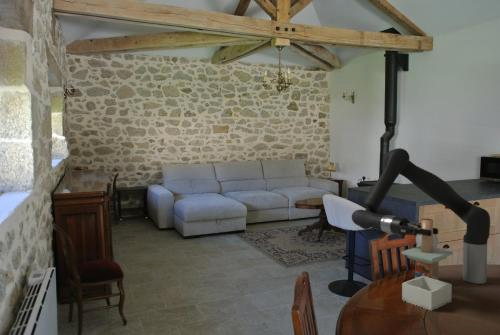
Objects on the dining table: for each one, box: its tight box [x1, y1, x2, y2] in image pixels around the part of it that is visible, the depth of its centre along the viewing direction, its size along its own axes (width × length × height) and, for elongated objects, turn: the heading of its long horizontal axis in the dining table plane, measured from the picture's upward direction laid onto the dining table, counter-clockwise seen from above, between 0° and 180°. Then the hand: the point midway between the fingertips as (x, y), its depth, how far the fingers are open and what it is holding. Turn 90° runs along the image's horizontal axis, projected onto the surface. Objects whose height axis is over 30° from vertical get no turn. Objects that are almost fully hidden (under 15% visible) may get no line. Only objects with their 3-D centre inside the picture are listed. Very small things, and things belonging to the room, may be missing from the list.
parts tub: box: [401, 276, 453, 312], centre depth 150 cm, size 14×12×7 cm
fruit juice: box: [414, 218, 439, 280], centre depth 171 cm, size 9×9×28 cm
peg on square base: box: [401, 220, 454, 264], centre depth 149 cm, size 14×12×14 cm
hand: (434, 232), depth 147 cm, fingers closed on peg on square base, 4 cm apart
